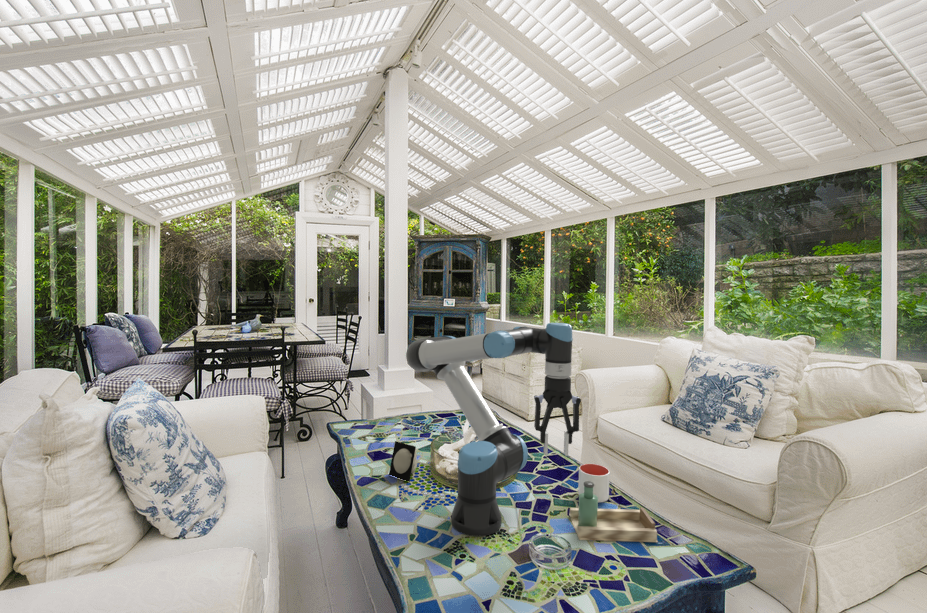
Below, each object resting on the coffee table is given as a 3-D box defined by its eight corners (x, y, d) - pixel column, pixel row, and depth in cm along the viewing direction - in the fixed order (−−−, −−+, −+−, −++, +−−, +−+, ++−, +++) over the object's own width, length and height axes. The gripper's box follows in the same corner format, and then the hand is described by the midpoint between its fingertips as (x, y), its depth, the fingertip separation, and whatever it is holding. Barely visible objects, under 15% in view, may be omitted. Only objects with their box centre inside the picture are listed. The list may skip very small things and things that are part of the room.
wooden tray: (579, 543, 126) (579, 525, 126) (568, 517, 140) (569, 501, 140) (658, 545, 126) (658, 528, 125) (639, 519, 140) (640, 503, 139)
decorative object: (401, 474, 174) (421, 481, 168) (383, 476, 165) (404, 483, 160) (407, 441, 176) (427, 446, 171) (390, 441, 167) (411, 446, 162)
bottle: (580, 531, 130) (581, 487, 130) (576, 521, 136) (577, 479, 135) (599, 531, 130) (600, 487, 130) (594, 521, 136) (595, 479, 135)
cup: (610, 507, 147) (611, 477, 146) (578, 503, 149) (579, 474, 148) (606, 493, 157) (607, 465, 156) (577, 489, 159) (578, 462, 158)
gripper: (528, 378, 127) (526, 458, 129) (592, 379, 127) (590, 459, 128) (525, 372, 135) (523, 448, 136) (586, 374, 134) (583, 449, 136)
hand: (555, 453), depth 132 cm, fingers open, 5 cm apart
